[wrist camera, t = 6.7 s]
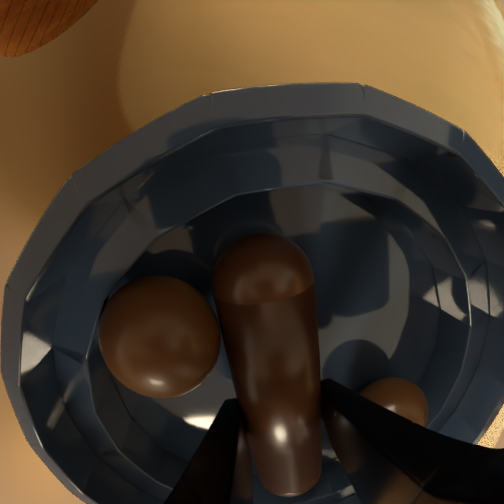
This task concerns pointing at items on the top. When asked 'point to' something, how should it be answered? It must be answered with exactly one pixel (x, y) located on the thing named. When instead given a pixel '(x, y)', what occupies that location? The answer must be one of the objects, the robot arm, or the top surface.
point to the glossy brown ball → (159, 336)
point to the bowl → (240, 224)
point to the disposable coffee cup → (36, 22)
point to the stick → (273, 356)
